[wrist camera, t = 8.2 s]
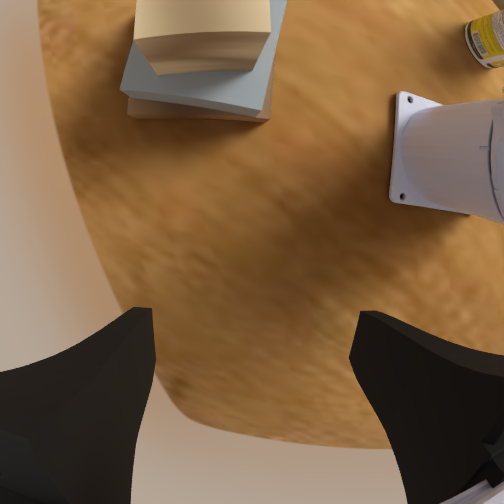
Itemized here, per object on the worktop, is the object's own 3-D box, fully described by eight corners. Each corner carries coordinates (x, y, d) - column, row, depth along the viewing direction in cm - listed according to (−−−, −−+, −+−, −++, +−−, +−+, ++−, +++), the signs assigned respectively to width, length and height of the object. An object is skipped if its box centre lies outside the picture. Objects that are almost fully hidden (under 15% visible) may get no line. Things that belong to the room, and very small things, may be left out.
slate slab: (279, 13, 14) (288, -5, 12) (255, 117, 16) (261, 110, 14) (163, -5, 13) (157, -24, 11) (132, 98, 15) (119, 89, 13)
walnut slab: (271, 15, 16) (278, -1, 14) (263, 123, 19) (270, 118, 16) (152, 11, 15) (145, -5, 13) (137, 119, 18) (126, 114, 15)
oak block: (250, -4, 12) (266, -58, 7) (252, 70, 13) (271, 32, 8) (161, 0, 11) (144, -53, 7) (157, 75, 13) (133, 39, 8)
